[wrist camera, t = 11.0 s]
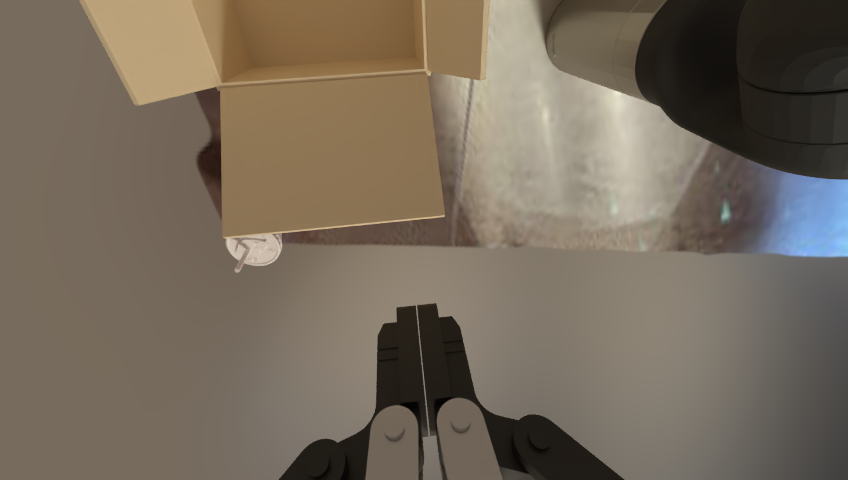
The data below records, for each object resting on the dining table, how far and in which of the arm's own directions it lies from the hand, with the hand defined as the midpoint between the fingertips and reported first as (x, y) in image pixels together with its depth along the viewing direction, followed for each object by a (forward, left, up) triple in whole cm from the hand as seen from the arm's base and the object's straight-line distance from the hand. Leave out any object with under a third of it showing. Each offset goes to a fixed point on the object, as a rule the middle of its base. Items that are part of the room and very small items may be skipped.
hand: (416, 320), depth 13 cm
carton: (+6, -7, -37) cm, 38 cm away
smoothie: (+19, +14, -37) cm, 44 cm away
